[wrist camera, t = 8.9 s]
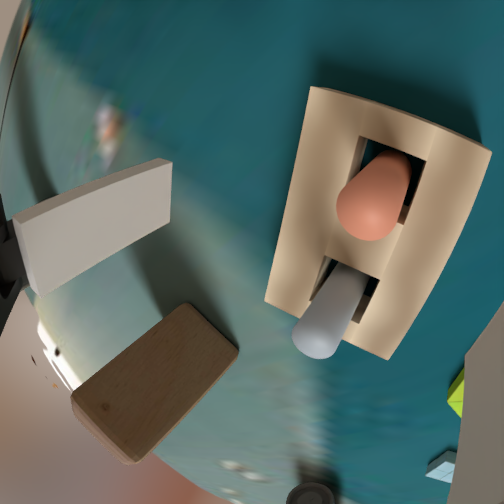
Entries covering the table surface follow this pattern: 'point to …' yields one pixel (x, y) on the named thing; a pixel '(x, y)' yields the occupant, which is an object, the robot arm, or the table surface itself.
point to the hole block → (405, 231)
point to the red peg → (375, 196)
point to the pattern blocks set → (446, 462)
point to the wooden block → (153, 384)
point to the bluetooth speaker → (310, 494)
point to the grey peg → (330, 312)
